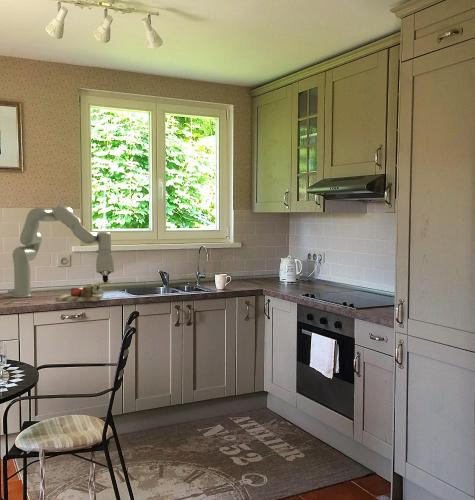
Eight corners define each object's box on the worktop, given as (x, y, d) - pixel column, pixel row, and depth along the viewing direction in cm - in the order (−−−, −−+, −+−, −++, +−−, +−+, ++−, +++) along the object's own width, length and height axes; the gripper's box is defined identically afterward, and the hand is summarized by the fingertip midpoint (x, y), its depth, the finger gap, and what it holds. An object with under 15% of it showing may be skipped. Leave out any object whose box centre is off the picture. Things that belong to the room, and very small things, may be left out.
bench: (56, 301, 338) (56, 287, 337) (62, 297, 352) (62, 285, 351) (98, 301, 339) (98, 287, 339) (102, 297, 353) (102, 285, 353)
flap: (90, 285, 340) (108, 282, 341) (93, 284, 350) (110, 280, 351) (90, 287, 340) (108, 283, 341) (94, 285, 350) (111, 281, 351)
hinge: (91, 293, 374) (96, 279, 374) (98, 295, 375) (103, 281, 375) (89, 296, 357) (95, 282, 357) (96, 299, 358) (102, 284, 358)
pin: (70, 296, 343) (70, 288, 342) (72, 295, 348) (72, 287, 347) (102, 296, 344) (102, 288, 343) (103, 295, 349) (103, 287, 348)
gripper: (91, 252, 341) (91, 282, 342) (116, 252, 342) (116, 282, 343) (93, 252, 348) (94, 281, 349) (118, 251, 349) (118, 281, 350)
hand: (105, 282), depth 346 cm, fingers closed
